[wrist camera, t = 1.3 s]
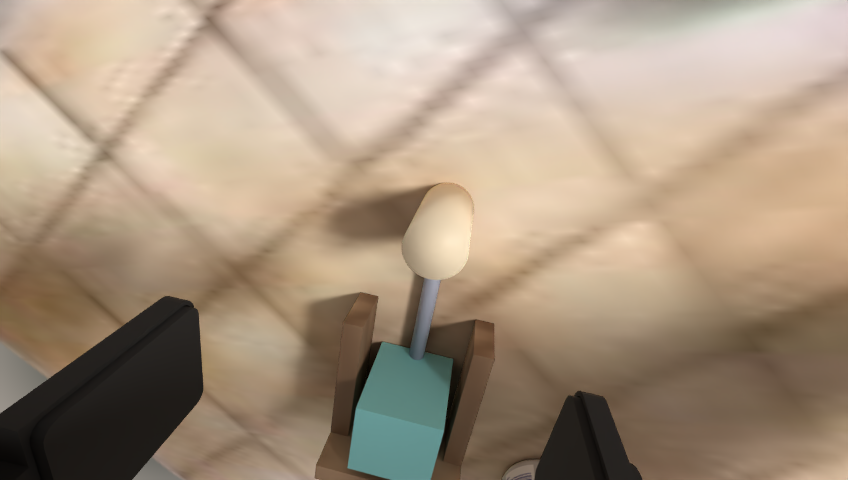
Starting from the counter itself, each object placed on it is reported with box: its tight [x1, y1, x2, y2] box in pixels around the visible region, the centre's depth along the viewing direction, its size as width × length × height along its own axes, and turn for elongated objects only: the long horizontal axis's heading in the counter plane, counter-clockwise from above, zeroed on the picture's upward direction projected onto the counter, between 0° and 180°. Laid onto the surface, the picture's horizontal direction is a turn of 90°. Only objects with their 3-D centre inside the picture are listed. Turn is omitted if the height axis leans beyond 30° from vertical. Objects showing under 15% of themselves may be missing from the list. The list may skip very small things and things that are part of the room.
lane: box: [315, 293, 495, 480], centre depth 26 cm, size 9×10×6 cm
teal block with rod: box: [347, 183, 474, 480], centre depth 23 cm, size 17×5×6 cm, turn 170°
